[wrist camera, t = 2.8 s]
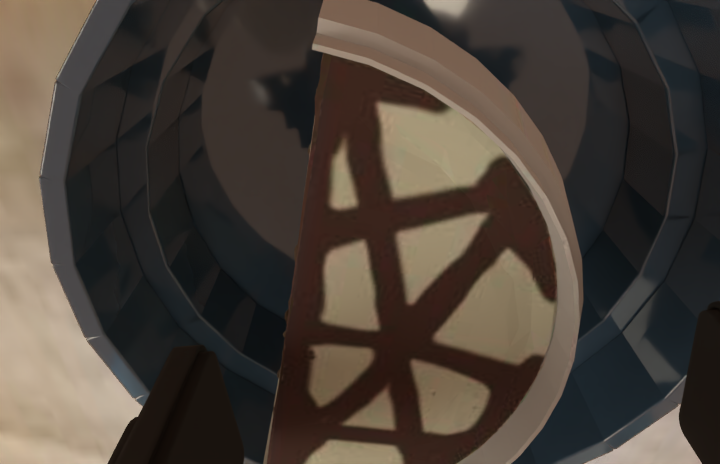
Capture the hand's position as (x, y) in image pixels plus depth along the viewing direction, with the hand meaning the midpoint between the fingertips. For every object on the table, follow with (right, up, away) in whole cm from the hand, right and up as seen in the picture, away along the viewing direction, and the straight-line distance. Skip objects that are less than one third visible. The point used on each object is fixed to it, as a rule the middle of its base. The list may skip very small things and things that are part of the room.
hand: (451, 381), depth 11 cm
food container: (0, +5, +8) cm, 10 cm away
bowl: (0, +5, +9) cm, 10 cm away
